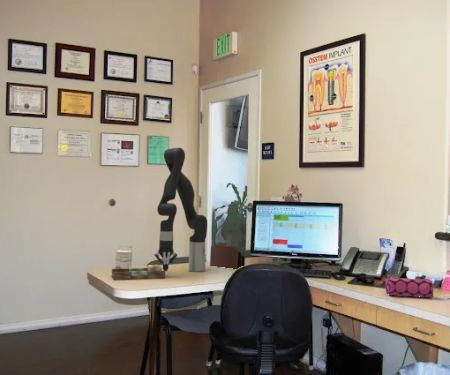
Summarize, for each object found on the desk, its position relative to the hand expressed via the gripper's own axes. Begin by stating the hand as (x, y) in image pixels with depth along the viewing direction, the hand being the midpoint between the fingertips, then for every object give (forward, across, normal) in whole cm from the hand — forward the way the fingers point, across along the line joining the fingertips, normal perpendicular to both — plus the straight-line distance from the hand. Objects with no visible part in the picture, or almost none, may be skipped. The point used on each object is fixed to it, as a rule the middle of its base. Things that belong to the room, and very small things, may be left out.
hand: (165, 270), depth 270 cm
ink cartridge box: (+3, +20, -21) cm, 29 cm away
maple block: (+1, +6, 0) cm, 6 cm away
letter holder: (+3, -45, -24) cm, 51 cm away
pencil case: (+3, -103, +73) cm, 126 cm away
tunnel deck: (+3, +15, 0) cm, 15 cm away
